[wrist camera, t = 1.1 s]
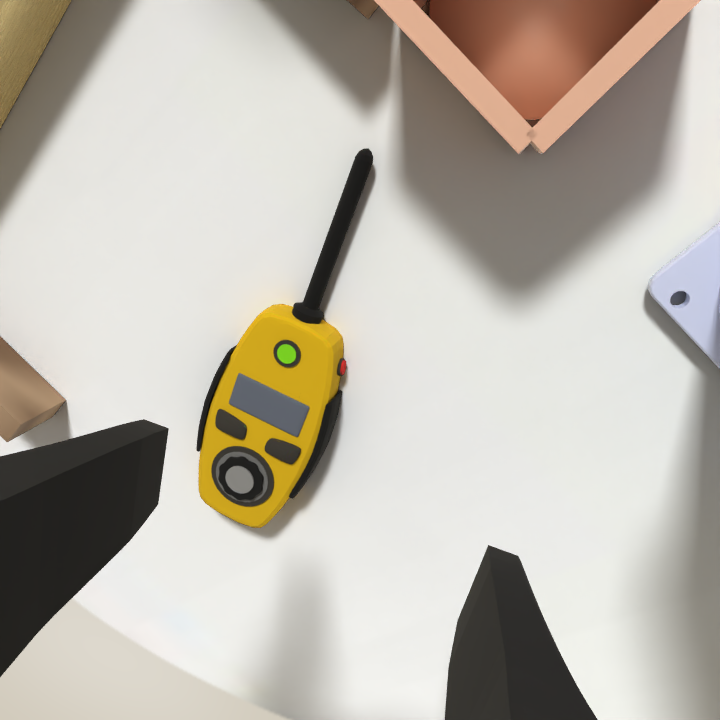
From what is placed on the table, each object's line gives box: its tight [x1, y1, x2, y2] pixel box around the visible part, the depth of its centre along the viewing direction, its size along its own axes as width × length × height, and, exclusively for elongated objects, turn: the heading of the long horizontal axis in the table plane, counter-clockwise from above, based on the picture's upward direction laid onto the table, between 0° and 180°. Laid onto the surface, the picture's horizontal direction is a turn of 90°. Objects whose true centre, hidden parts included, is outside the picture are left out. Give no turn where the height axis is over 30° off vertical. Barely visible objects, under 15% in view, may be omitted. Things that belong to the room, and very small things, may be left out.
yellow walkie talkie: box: [197, 149, 373, 528], centre depth 21 cm, size 5×2×15 cm
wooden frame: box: [0, 0, 379, 442], centre depth 20 cm, size 11×21×2 cm, turn 136°
